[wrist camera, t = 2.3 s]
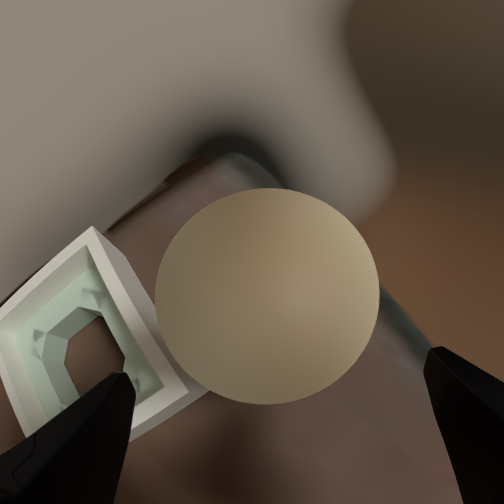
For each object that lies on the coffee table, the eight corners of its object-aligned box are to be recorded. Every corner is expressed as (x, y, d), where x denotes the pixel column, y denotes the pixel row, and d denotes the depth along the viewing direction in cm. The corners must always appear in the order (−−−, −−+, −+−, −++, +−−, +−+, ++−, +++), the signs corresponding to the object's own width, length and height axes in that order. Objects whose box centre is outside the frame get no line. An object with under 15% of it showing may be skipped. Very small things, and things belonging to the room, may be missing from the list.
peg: (259, 397, 16) (204, 439, 4) (231, 335, 18) (131, 239, 6) (324, 367, 17) (417, 334, 5) (294, 306, 18) (311, 161, 6)
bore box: (88, 465, 15) (47, 477, 11) (26, 337, 19) (-15, 323, 15) (211, 389, 17) (188, 391, 13) (124, 255, 21) (92, 225, 17)
